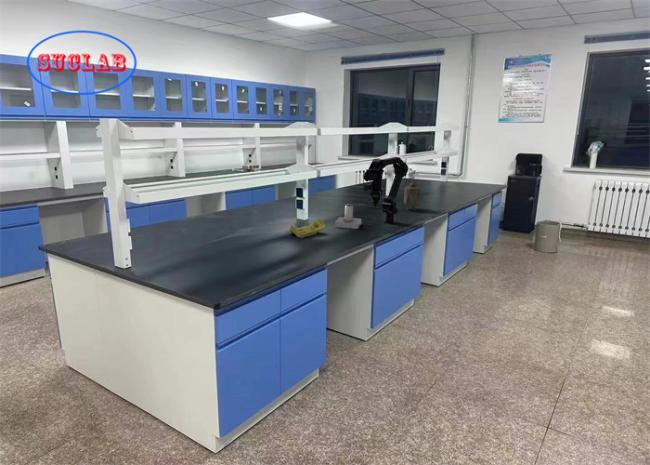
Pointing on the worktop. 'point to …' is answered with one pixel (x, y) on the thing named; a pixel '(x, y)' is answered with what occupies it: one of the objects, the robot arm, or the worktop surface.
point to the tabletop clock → (412, 195)
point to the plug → (349, 212)
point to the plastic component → (308, 229)
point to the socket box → (347, 223)
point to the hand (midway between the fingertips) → (375, 205)
